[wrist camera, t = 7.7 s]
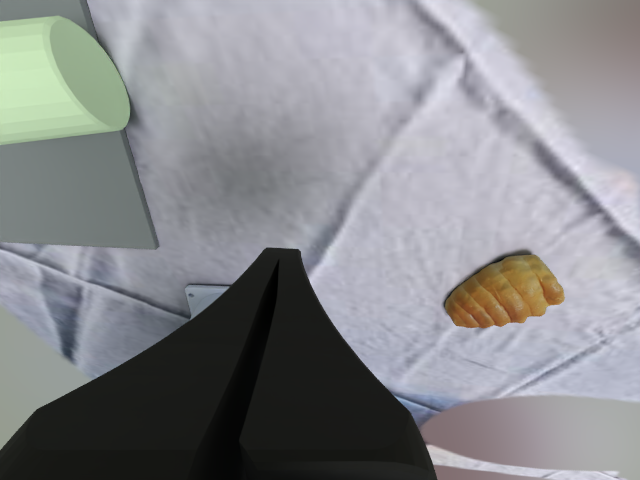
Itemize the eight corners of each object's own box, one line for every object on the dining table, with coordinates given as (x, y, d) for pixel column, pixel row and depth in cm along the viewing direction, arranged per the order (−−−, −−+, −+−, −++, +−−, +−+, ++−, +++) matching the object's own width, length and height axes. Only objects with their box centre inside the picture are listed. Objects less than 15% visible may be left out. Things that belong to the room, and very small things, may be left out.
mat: (159, 246, 21) (156, 249, 21) (-5, 238, 20) (-12, 241, 20) (46, -133, 11) (35, -142, 11) (-291, -181, 10) (-319, -193, 10)
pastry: (456, 324, 28) (475, 355, 24) (430, 289, 25) (448, 318, 22) (543, 284, 25) (579, 313, 22) (526, 239, 22) (563, 264, 19)
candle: (143, 131, 16) (13, 147, 16) (108, 38, 14) (-41, 53, 14) (83, 129, 12) (-102, 151, 11) (19, -9, 10) (-206, 12, 9)
